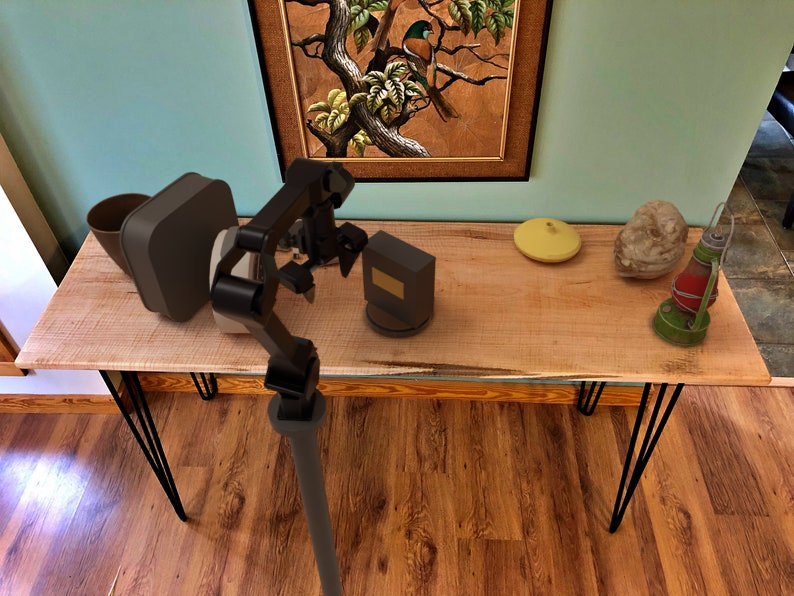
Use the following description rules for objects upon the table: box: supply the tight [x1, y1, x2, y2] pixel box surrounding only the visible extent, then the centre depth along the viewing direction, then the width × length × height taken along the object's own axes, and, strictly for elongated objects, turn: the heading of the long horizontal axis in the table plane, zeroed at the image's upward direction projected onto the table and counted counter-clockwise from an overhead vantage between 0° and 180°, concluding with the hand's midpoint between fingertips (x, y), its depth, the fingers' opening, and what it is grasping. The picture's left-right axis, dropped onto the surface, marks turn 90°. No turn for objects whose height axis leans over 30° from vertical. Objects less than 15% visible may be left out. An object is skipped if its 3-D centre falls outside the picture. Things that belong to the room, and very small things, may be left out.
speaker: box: [119, 171, 240, 323], centre depth 131 cm, size 25×9×25 cm, turn 154°
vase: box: [513, 217, 582, 263], centre depth 146 cm, size 16×16×7 cm
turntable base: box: [365, 301, 432, 339], centre depth 132 cm, size 14×14×2 cm
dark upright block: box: [360, 229, 437, 330], centre depth 126 cm, size 13×14×16 cm
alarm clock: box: [210, 225, 266, 334], centre depth 127 cm, size 21×8×20 cm, turn 179°
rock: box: [612, 199, 690, 280], centre depth 138 cm, size 18×16×15 cm
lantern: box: [651, 201, 735, 349], centre depth 119 cm, size 14×11×30 cm
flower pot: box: [85, 192, 152, 279], centre depth 139 cm, size 15×15×16 cm
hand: (327, 289), depth 119 cm, fingers open, 9 cm apart
